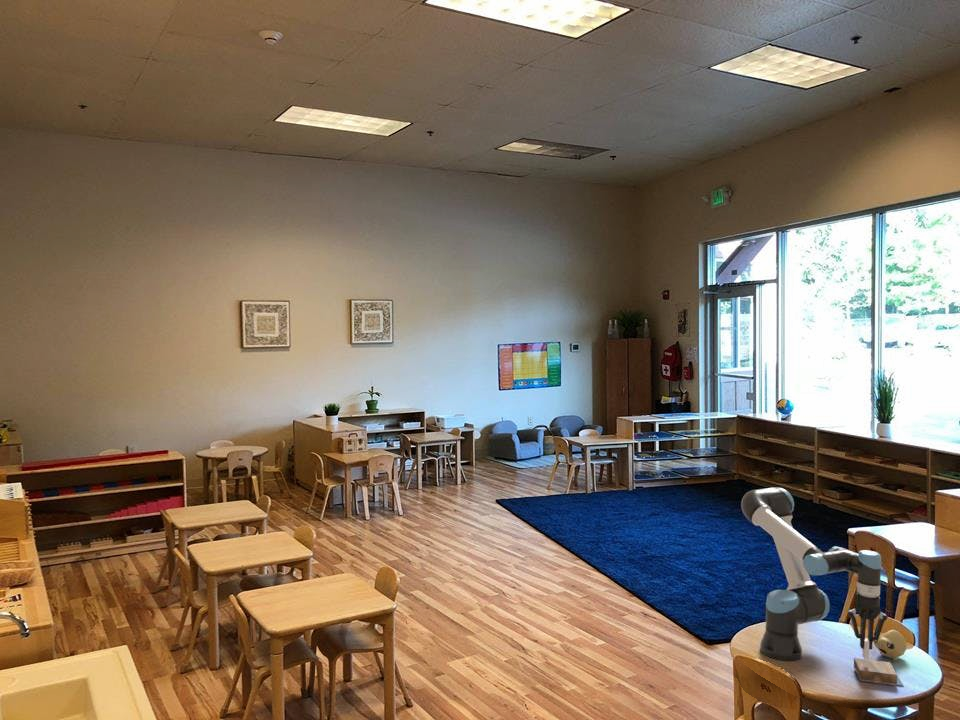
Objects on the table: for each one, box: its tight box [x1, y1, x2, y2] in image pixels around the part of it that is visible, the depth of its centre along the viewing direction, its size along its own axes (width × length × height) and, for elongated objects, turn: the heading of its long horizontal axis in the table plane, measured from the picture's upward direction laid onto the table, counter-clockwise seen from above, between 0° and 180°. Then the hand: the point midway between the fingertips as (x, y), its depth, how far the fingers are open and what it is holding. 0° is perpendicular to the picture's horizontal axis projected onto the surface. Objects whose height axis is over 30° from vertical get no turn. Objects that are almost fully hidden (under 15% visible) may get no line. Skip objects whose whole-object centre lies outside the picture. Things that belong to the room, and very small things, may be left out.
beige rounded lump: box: [873, 629, 907, 661], centre depth 282 cm, size 10×12×11 cm
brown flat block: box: [853, 657, 898, 686], centre depth 266 cm, size 4×10×12 cm
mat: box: [864, 674, 904, 687], centre depth 267 cm, size 13×11×1 cm
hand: (865, 657), depth 267 cm, fingers closed
